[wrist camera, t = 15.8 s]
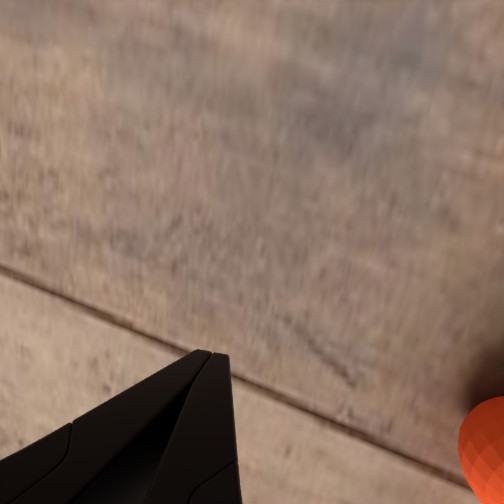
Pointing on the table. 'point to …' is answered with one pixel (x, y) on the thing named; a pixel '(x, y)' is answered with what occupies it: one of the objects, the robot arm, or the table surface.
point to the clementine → (484, 450)
